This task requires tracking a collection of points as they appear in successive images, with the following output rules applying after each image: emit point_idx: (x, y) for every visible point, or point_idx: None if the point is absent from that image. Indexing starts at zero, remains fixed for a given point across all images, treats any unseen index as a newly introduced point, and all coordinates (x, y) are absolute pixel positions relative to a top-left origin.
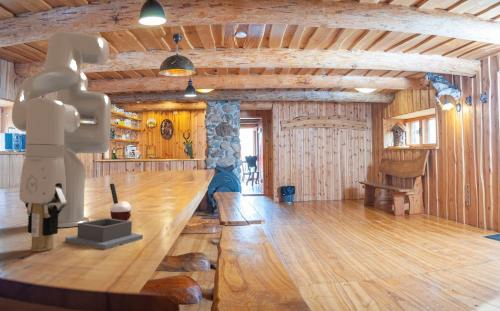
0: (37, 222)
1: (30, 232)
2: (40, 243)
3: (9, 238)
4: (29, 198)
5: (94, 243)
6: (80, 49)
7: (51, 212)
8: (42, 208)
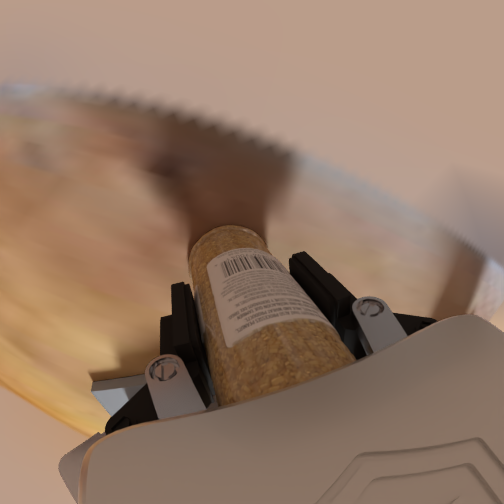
0: (223, 301)
1: (294, 258)
2: (198, 258)
3: (433, 233)
4: (366, 396)
5: (133, 385)
6: None
7: (146, 401)
8: (229, 394)
